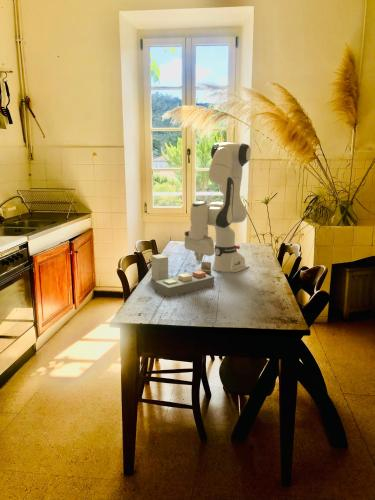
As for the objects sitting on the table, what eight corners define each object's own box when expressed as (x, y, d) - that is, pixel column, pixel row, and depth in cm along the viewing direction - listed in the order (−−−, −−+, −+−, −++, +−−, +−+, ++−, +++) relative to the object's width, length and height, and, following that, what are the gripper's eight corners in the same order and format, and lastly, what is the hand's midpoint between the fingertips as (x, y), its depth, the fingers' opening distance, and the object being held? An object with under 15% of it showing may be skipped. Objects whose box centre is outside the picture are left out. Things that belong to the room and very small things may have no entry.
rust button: (199, 277, 205) (199, 270, 204) (205, 280, 202) (205, 272, 201) (192, 279, 202) (192, 271, 201) (198, 281, 199) (198, 274, 198)
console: (199, 279, 210) (199, 271, 209) (213, 285, 201) (214, 277, 200) (155, 290, 194) (155, 281, 193) (168, 296, 184) (168, 287, 183)
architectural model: (210, 276, 217) (210, 263, 215) (197, 275, 218) (198, 263, 217) (211, 275, 220) (211, 262, 218) (199, 274, 222) (199, 261, 220)
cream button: (186, 280, 200) (186, 273, 199) (191, 283, 196) (191, 275, 195) (178, 282, 197) (178, 275, 196) (184, 285, 193) (184, 277, 192)
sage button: (171, 286, 195) (171, 279, 194) (177, 289, 191) (177, 281, 190) (163, 288, 192) (163, 280, 191) (169, 291, 188) (169, 283, 188)
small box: (168, 280, 208) (168, 257, 205) (157, 282, 205) (157, 258, 202) (162, 276, 215) (161, 253, 212) (151, 278, 212) (150, 255, 209)
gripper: (217, 236, 190) (217, 264, 194) (192, 230, 206) (192, 255, 209) (207, 238, 187) (207, 266, 190) (182, 231, 202) (182, 257, 206)
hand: (199, 260), depth 200 cm, fingers closed
